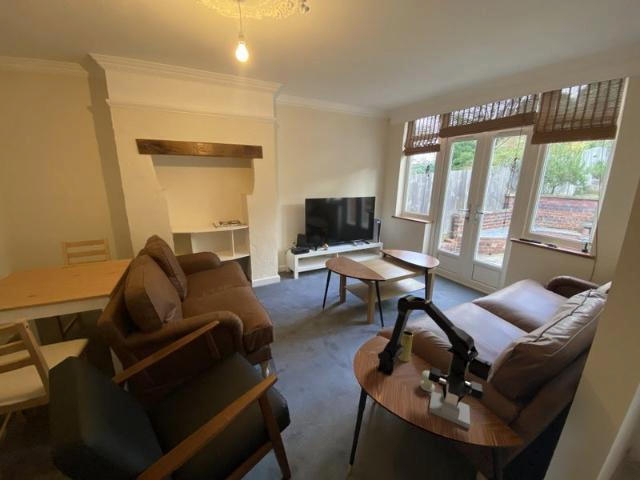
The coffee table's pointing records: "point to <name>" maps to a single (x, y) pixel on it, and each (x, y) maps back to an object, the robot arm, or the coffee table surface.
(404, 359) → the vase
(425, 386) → the spool
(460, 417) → the notch board
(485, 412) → the coffee table surface
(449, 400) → the block
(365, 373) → the coffee table surface
